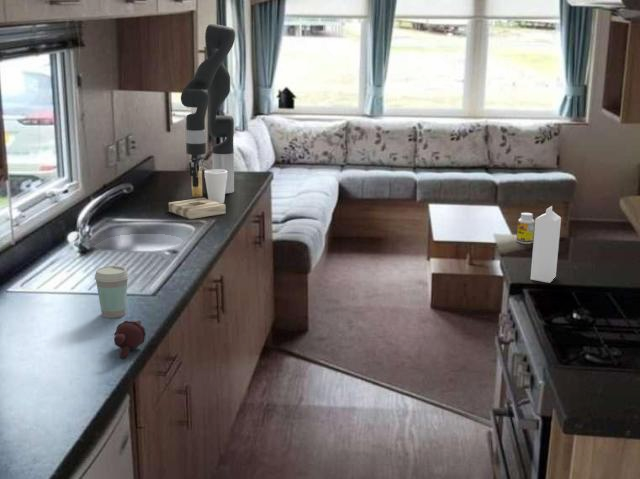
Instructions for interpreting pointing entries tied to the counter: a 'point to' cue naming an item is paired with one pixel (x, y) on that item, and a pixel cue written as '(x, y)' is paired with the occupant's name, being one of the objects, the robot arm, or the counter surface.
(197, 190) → the brass cylinder
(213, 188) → the foam cup
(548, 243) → the milk
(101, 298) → the coffee cup
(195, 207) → the plate
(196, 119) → the robot arm
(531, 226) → the supplement bottle
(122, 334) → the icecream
